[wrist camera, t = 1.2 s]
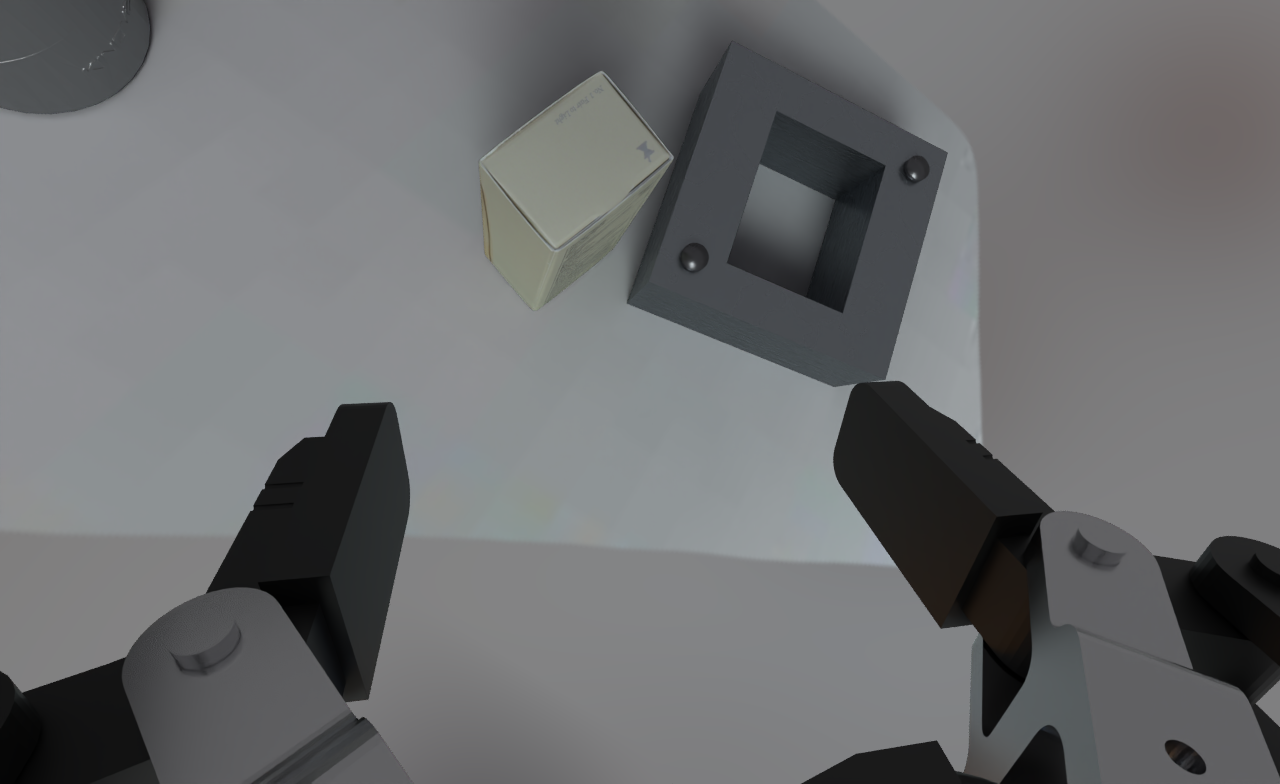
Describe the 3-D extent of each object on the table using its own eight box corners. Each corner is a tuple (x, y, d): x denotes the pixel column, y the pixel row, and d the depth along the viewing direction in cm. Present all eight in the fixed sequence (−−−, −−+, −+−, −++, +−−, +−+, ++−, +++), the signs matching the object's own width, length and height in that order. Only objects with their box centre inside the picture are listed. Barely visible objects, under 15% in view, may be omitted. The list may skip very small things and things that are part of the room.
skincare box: (566, 190, 34) (604, 59, 22) (617, 251, 34) (681, 155, 22) (479, 256, 32) (471, 155, 21) (534, 319, 33) (556, 254, 21)
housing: (626, 303, 34) (651, 279, 29) (700, 93, 36) (735, 35, 31) (834, 386, 37) (889, 378, 32) (891, 187, 39) (953, 149, 34)
